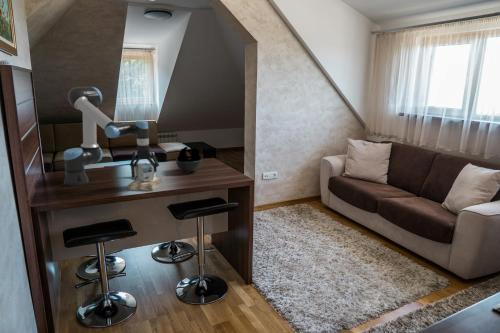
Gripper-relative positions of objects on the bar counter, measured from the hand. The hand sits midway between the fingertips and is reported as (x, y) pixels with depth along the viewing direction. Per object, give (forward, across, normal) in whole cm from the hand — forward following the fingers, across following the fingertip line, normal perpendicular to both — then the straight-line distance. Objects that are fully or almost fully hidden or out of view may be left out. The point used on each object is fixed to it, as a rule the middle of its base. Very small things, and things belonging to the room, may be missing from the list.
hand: (145, 176), depth 227 cm
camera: (+7, -11, +20) cm, 24 cm away
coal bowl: (+7, +19, +41) cm, 46 cm away
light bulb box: (+2, 0, 0) cm, 2 cm away
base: (+7, 0, 0) cm, 7 cm away
